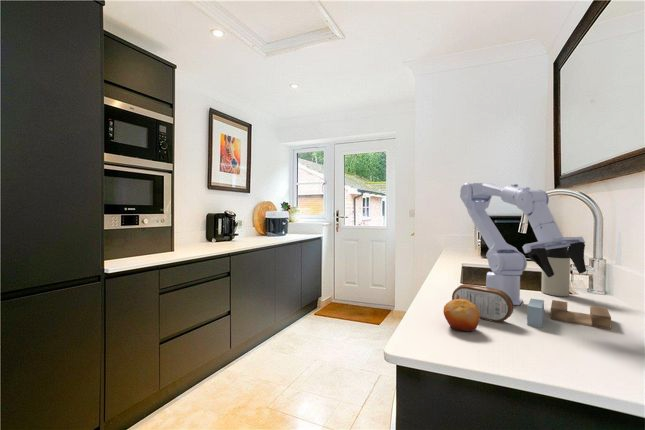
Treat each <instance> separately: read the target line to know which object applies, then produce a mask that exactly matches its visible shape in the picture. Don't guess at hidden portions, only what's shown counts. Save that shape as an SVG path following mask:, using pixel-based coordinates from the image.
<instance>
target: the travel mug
mask: <svg viewBox="0 0 645 430" xmlns="http://www.w3.org/2000/svg"><path fill="white" fill-rule="evenodd" d="M568 248H569V247H562V248H555V249H547V250H546V253H547V257H548V260H549V263H550V265H551V267H552V269H553V272H554V275H553V276H552V277H548V276H547V275H546V274H545V272H544V271H543V270H542V269H541V286H540V287H541V290H540V291H541V292H542V293H543V294H545V293H546V294H545V295H548V294H550V295H549V296H552V295H554V297H562V296H563V297H569V296H570V287H571V286H570V283H571V282H570V280H571V279H570V278H571V277H570V274H571V258H570V257H569V256H568V254H567V253H566V251H567V250H568Z"/></svg>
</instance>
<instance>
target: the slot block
mask: <svg viewBox="0 0 645 430" xmlns="http://www.w3.org/2000/svg"><path fill="white" fill-rule="evenodd" d="M550 320H554V321H560V322H565V323H571V324H577V325H583V326H587V327H588V326H589V327H593V328H594V327H595V328H601V329H606V330H612V317H611V313H610V311H609V309H608V307H604V306H597V305H590V306H589V313H583V312H577V311H571V310H568V301H562V300H555V299H552V300H551V306H550Z"/></svg>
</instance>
